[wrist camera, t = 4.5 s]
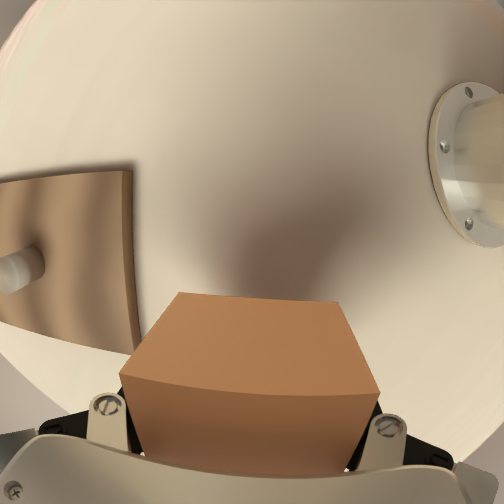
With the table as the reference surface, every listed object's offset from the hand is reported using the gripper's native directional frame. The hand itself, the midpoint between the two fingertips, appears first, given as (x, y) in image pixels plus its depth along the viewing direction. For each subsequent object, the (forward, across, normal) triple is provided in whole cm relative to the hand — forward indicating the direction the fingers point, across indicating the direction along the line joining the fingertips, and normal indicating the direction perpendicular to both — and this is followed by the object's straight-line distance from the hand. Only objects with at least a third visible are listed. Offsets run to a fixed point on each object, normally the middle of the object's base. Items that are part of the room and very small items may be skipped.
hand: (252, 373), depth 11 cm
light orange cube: (+1, 0, 0) cm, 1 cm away
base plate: (+6, +16, -2) cm, 18 cm away
